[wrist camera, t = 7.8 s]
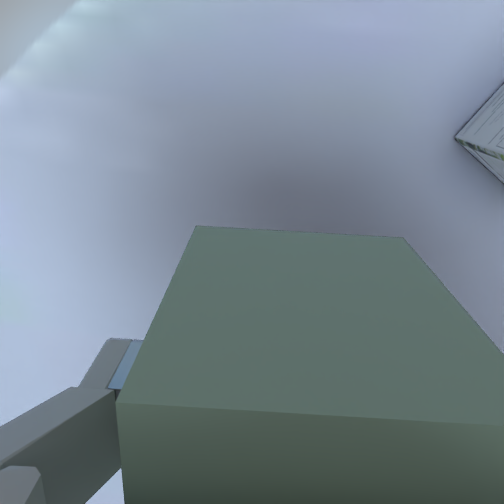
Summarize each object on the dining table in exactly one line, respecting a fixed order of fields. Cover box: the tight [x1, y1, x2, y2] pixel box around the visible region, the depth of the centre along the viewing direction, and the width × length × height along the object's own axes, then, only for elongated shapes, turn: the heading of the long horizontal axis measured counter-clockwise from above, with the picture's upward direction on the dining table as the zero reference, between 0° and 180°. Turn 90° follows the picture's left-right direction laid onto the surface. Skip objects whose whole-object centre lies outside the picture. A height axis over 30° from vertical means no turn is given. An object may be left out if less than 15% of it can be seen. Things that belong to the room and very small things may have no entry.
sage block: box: [115, 226, 504, 504], centre depth 8 cm, size 5×5×6 cm
